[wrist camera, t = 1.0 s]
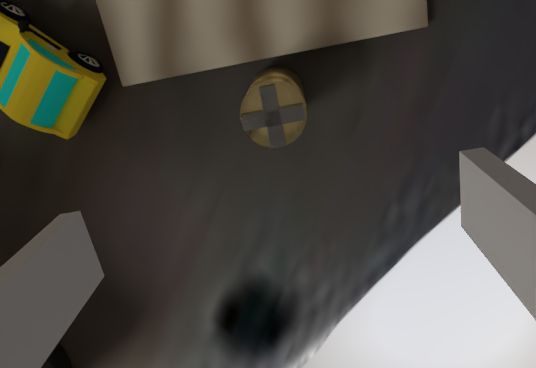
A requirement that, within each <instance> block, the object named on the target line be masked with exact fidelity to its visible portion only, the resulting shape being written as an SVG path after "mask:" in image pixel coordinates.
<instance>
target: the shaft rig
mask: <svg viewBox="0 0 536 368" xmlns="http://www.w3.org/2000/svg"><path fill="white" fill-rule="evenodd" d="M96 3H97V6H98V9H99V13H100V16H101V19H102V22H103V25H104V29H105V32H106V35H107V38H108V41H109V45H110V48H111V51H112V54H113V58H114V61H115V64H116V67H117V70H118V74H119V77H120V80H121V83H122V86H123V87H124V86H129V85H134V84H139V83H144V82H149V81H155V80H160V79H165V78H170V77H175V76H180V75H185V74H190V73H195V72H200V71H205V70H210V69H215V68H220V67H225V66H231V65H236V64H241V63H246V62H251V61H256V60H261V59H266V58H271V57H276V56H281V55H286V54H291V53H296V52H302V51H307V50H312V49H317V48H322V47H327V46H332V45H337V44H342V43H347V42H352V41H357V40H362V39H367V38H373V37H378V36H383V35H388V34H393V33H398V32H403V31H408V30H413V29H418V28H423V27H428V15H427V0H96Z"/></svg>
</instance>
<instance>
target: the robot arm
mask: <svg viewBox="0 0 536 368" xmlns="http://www.w3.org/2000/svg"><path fill="white" fill-rule="evenodd" d="M459 161H460V195H461V226H462V228H463V229H464V230H465V231H466V233H467V234H468V235H469V236H470V238H471V239H472V240H473V241H474V243H475V244H476V245H477V247H478V248H479V249H480V250H481V252H482V253H483V254H484V255H485V257H486V258H487V259H488V260H489V262H490V263H491V264H492V265H493V267H494V268H495V269H496V270H497V272H498V273H499V274H500V276H501V277H502V278H503V279H504V280H505V282H506V283H507V284H508V286H509V287H510V288H511V289H512V291H513V292H514V293H515V294H516V296H517V297H518V298H519V299H520V301H521V302H522V303H523V305H524V306H525V307H526V308H527V310H528V311H529V312H530V313H531V315H532V316H533V317H534V318H535V320H536V184H534V183H533V182H532V181H530V180H529V179H528V178H526V177H525V176H523V175H522V174H520V173H519V172H517V171H516V170H515V169H513V168H512V167H511V166H509V165H508V164H506V163H505V162H504V161H502V160H501V159H499V158H498V157H497V156H495V155H494V154H492V153H491V152H490V151H488V150H487V149H485V148H484V147H483V148H476V149H470V150H464V151H459ZM103 277H104V273H103V271H102V268H101V265H100V263H99V260H98V257H97V255H96V252H95V249H94V247H93V244H92V241H91V239H90V236H89V233H88V231H87V228H86V225H85V223H84V220H83V217H82V215H81V212H80V211H76V212H70V213H63V214H60V215H58V216H57V217H56V218H55V219H54V220H53V221H52V222H51V223H49V224H48V225H47V226H46V227H45V228H44V229H43V230H42V231H41V232H39V233H38V234H37V235H36V236H35V237H34V238H33V239H32V240H30V241H29V242H28V243H27V244H26V245H25V246H24V247H23V248H21V249H20V250H19V251H18V252H17V253H16V254H15V255H14V256H13V257H11V258H10V259H9V260H8V261H7V262H6V263H5V264H4V265H2V266H1V267H0V368H71V365H70V362H69V360H68V358H67V356H66V354H65V352H64V351H63V349H62V348H61V347H60V346H59V344H58V342H59V341H60V339H61V338H62V337H63V335H64V334H65V332H66V331H67V329H68V328H69V327H70V325H71V324H72V322H73V321H74V319H75V318H76V316H77V315H78V314H79V312H80V311H81V309H82V308H83V306H84V305H85V303H86V302H87V301H88V299H89V298H90V296H91V295H92V293H93V292H94V290H95V289H96V288H97V286H98V285H99V283H100V282H101V280H102V279H103Z"/></svg>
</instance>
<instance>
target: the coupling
mask: <svg viewBox="0 0 536 368" xmlns="http://www.w3.org/2000/svg"><path fill="white" fill-rule="evenodd" d="M240 121H241V125H242V127H243V130H244V131H245V133H246V134H247V135H248V137H249V138H250V139H251V140H253V141H254V142H256V143H257V144H259V145H262V146H265V147H270V148H271V149H275V148H281V147H286V145H288V144H290V143H292V142H293V141H294V140H296V139H297V138H298V137H299V136H300V134H301V133H302V131H303V129H304V127H305V125H306V121H307V108H306V102H305V96H304V90H303V85H302V82H301V80H300V78H299V77H298V76H297V75H296V74H295V73H294V72H293V71H292V70H290V69H288V68H286V67H282V66H271V67H268V68H266V69H264V70H262V71H261V72H259V73H258V74H257V75H256V77H255V78H254V80H253V82H252V84H251V86H250V87H249V89H248V91H247V93H246V95H245V97H244V99H243V101H242V104H241V107H240Z"/></svg>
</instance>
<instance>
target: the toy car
mask: <svg viewBox="0 0 536 368" xmlns="http://www.w3.org/2000/svg"><path fill="white" fill-rule="evenodd" d="M28 21H29V16H28V14H27V13H26V12H25V11H24V10H22V9H21V8H20V7H18V6H16V5H14V4H12V3H10V2H8V1H5V0H0V109H1V110H2V111H3V112H4V113H5V114H7V115H8V116H9V117H10V118H11V119H13V120H14V121H16V122H18V123H20V124H22V125H24V126H27V127H30V128H32V129H35V130H38V131H41V132H45V133H50V134H55V135H57V136H59V137H62V138H64V139H67V140H68V139H69V138H71V137H73V136H74V135H76V134H77V132H78V130H79V128H80V126H81V124H82V123H83V121H84V119H85V117H86V115H87V113H88V112H89V110H90V108H91V106H92V104H93V103H94V101H95V99H96V97H97V95H98V93H99V92H100V90H101V88H102V86H103V84H104V82H105V81H106V77H105V76H104V74H103V73H101V72H102V71H103V66H102V64H101V63H100V62H99V61H98V60H96V59H95V58H94V57H92V56H90V55H88V54H86V53H84V52H80V51H76V52H74V53H73V54H72V53H70V51H69V50H68V49H66V48H65V47H63V46H62V45H60V44H59V43H57V42H56V41H54V40H53V39H51V38H50V37H48V36H47V35H45V34H44V33H42V32H41V31H39V30H38V29H36V28H35V27H33V26H32V25H30V23H29V22H28Z"/></svg>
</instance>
